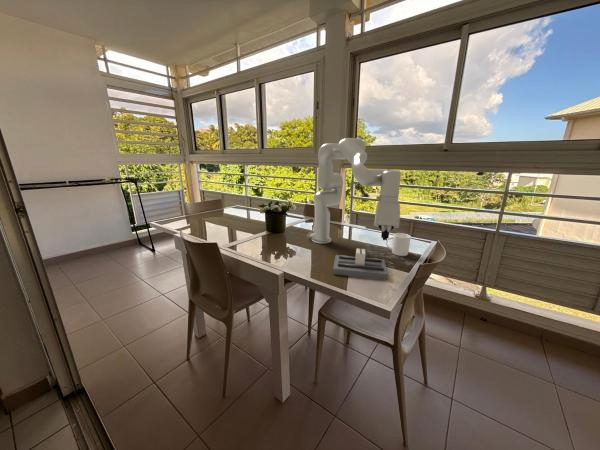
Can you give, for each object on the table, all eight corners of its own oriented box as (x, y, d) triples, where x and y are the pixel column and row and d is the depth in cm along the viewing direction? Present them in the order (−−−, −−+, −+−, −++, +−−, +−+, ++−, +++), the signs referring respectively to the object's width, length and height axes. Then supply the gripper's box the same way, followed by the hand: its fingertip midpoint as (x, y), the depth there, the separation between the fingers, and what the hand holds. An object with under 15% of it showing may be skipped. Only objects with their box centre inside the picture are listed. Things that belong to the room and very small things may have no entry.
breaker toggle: (355, 265, 112) (356, 252, 110) (355, 259, 118) (356, 248, 116) (364, 265, 111) (365, 253, 110) (363, 260, 117) (364, 248, 115)
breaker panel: (332, 274, 110) (333, 266, 109) (335, 259, 125) (335, 252, 124) (387, 280, 106) (388, 271, 104) (383, 264, 121) (384, 257, 119)
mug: (386, 248, 142) (388, 231, 139) (408, 252, 137) (410, 234, 134) (384, 253, 134) (386, 235, 131) (407, 257, 129) (410, 238, 126)
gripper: (371, 200, 102) (368, 240, 107) (409, 201, 99) (403, 243, 104) (370, 197, 109) (367, 235, 114) (405, 198, 106) (400, 238, 111)
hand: (384, 239), depth 109 cm, fingers closed
